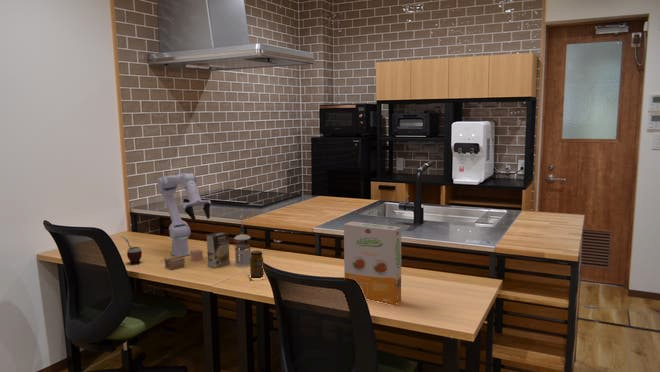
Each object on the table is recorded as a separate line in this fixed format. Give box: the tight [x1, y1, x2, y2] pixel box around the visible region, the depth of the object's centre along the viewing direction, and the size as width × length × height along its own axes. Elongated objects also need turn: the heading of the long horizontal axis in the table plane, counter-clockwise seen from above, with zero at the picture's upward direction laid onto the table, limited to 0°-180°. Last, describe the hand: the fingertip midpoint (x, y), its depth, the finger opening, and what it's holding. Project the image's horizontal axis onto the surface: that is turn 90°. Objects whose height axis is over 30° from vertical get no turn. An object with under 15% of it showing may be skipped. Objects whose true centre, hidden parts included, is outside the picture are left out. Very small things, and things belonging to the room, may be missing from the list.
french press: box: [233, 215, 252, 268], centre depth 258 cm, size 10×12×25 cm
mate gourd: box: [121, 235, 143, 266], centre depth 263 cm, size 8×8×15 cm
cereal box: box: [343, 221, 402, 306], centre depth 206 cm, size 22×6×30 cm, turn 56°
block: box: [190, 248, 204, 262], centre depth 268 cm, size 4×4×5 cm
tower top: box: [164, 255, 186, 266], centre depth 255 cm, size 7×7×2 cm
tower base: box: [164, 263, 185, 271], centre depth 256 cm, size 7×7×2 cm
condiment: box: [248, 250, 265, 281], centre depth 236 cm, size 7×8×12 cm
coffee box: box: [206, 231, 231, 269], centre depth 257 cm, size 9×6×16 cm
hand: (201, 219), depth 256 cm, fingers open, 7 cm apart
